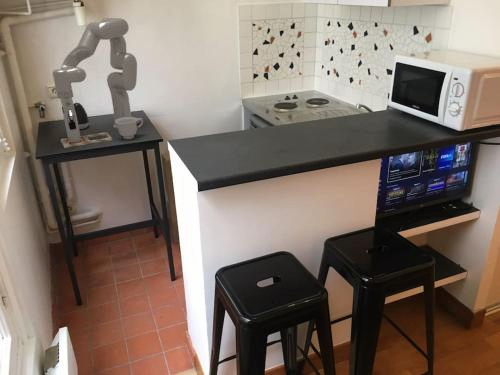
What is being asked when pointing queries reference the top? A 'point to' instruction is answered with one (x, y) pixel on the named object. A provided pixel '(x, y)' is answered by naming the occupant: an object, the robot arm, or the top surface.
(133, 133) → the teacup
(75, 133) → the travel mug
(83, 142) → the beige flat rectangular frame
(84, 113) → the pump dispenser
